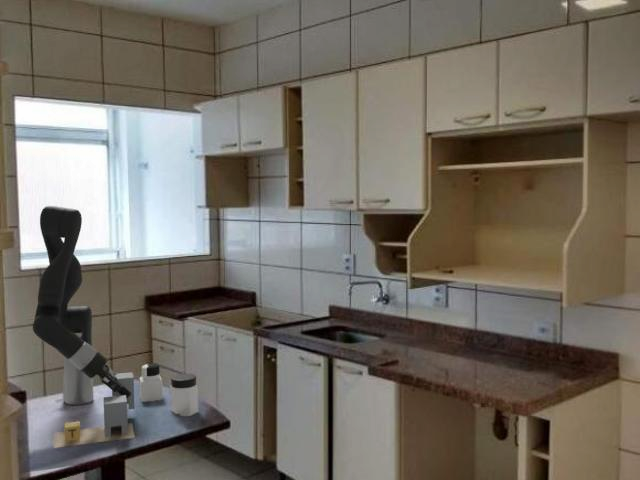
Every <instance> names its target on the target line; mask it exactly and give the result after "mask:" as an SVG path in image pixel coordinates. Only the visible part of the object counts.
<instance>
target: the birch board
mask: <svg viewBox="0 0 640 480" xmlns="http://www.w3.org/2000/svg"><path fill="white" fill-rule="evenodd" d="M127 424H128V435H122V428H121V429H113V430H111V437H106V438H105V431H104V426H100V427H91V428H90V427H89V428H84V429H83V428H82V429H80V439H79V440H71V441H65V431H58V432H55V434H54V439H53V447H52V448H53V449H55V448H56V449H57V448H63V447H72V446H80V445H88V444H89V445H90V444H95V443H101V442H103V443H104V442H111V441H117V440H127V439H133V438H136V437H135V433H134V427H133V423H127Z"/></svg>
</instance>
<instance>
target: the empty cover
mask: <svg viewBox="0 0 640 480" xmlns="http://www.w3.org/2000/svg"><path fill="white" fill-rule="evenodd" d="M103 423H104V424H103V425H104V426H103V427H104V431H105V438H106V437H111V430H113V429H121V428H122V435H128V424H129V423H128V404H127V399H126V395H122V396H113V397H112V396H105V397H103Z"/></svg>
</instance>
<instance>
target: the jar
mask: <svg viewBox="0 0 640 480" xmlns="http://www.w3.org/2000/svg"><path fill="white" fill-rule="evenodd" d="M198 394H199V390H198V384H197V375H195V374H193V373H177V374H175V375H173V376H171V377H170V385H169V400H170V401H169V404H170V406H169V407H170V411H171V412H172V413H174V414H175V415H180V418H181V417H182V418H183V417H191V416H193V415H195V414H197V413H198V412H199V395H198Z"/></svg>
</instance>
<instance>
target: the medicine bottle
mask: <svg viewBox="0 0 640 480" xmlns="http://www.w3.org/2000/svg"><path fill="white" fill-rule="evenodd" d="M163 388H164V387H163V379H162V377H161V375H160V365H159V364H157V363H147V364H143V365H142V366H141V376H140V377H139V396H140V400H141V403H146V402H148V401H149V402H156V400H157V401H162V400H163V399H164V398H163V397H164V396H163V394H164V392H163Z"/></svg>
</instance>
